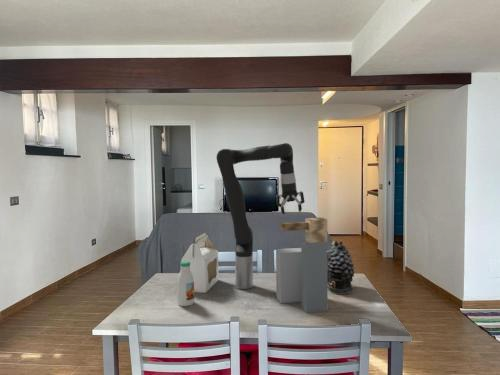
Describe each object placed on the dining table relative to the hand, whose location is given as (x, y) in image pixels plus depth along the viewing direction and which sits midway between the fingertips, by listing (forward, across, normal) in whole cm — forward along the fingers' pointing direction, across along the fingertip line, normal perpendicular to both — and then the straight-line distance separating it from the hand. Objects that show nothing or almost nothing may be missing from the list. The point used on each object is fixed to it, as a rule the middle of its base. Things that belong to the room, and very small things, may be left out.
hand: (291, 212), depth 180 cm
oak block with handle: (+7, +1, +28) cm, 29 cm away
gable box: (+36, +53, -9) cm, 64 cm away
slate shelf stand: (+39, +5, +23) cm, 45 cm away
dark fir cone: (+43, -20, +5) cm, 48 cm away
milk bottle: (+33, +58, +17) cm, 69 cm away
